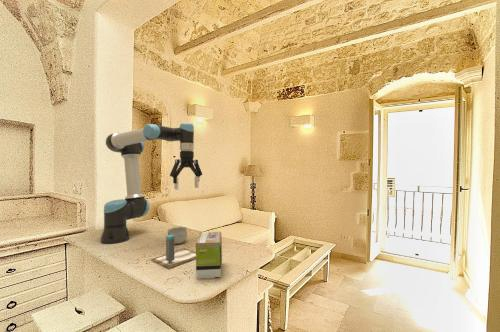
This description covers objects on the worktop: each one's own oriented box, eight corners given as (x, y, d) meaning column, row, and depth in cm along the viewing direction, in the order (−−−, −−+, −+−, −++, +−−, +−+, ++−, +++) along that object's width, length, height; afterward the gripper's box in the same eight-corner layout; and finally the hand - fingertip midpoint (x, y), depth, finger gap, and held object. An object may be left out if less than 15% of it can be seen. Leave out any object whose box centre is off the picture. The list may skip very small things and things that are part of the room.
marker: (165, 262, 108) (165, 236, 108) (171, 260, 110) (171, 234, 110) (169, 264, 107) (169, 237, 106) (174, 262, 109) (174, 235, 109)
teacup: (181, 246, 132) (181, 231, 132) (163, 245, 134) (163, 230, 134) (192, 238, 146) (192, 225, 146) (176, 237, 148) (176, 224, 148)
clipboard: (149, 259, 113) (149, 257, 113) (183, 248, 128) (183, 246, 128) (168, 269, 103) (168, 266, 103) (203, 256, 118) (203, 253, 118)
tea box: (200, 263, 109) (200, 231, 109) (222, 263, 110) (222, 231, 110) (195, 279, 94) (195, 242, 94) (221, 278, 95) (221, 241, 95)
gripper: (171, 149, 122) (171, 190, 122) (208, 151, 142) (208, 187, 142) (163, 150, 127) (163, 189, 127) (200, 152, 146) (200, 186, 147)
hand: (186, 188), depth 134 cm, fingers open, 13 cm apart
